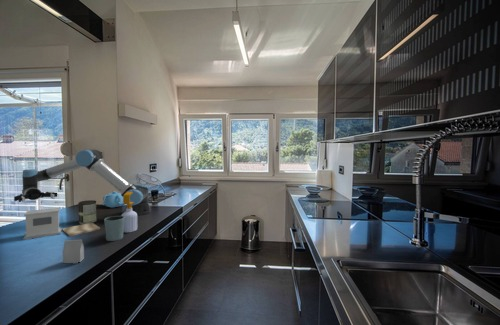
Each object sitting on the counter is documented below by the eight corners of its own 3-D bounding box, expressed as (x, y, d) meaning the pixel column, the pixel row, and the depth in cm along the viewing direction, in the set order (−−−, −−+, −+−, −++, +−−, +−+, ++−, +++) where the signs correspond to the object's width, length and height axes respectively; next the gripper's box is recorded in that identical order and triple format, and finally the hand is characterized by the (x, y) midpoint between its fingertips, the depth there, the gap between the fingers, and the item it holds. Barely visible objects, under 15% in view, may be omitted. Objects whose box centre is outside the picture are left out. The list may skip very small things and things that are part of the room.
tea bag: (80, 262, 104) (80, 241, 104) (62, 264, 103) (62, 242, 102) (84, 259, 108) (83, 238, 107) (67, 260, 106) (66, 239, 106)
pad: (91, 224, 158) (91, 222, 158) (100, 229, 148) (100, 227, 147) (62, 230, 145) (62, 228, 145) (69, 236, 135) (69, 234, 135)
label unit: (61, 229, 146) (60, 207, 146) (60, 234, 138) (59, 210, 138) (26, 234, 137) (25, 210, 136) (23, 239, 129) (22, 214, 128)
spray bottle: (140, 228, 151) (139, 191, 150) (131, 233, 142) (131, 193, 141) (127, 227, 152) (126, 190, 151) (118, 232, 143) (117, 193, 142)
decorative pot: (99, 208, 198) (99, 193, 197) (110, 204, 214) (109, 189, 213) (119, 208, 199) (119, 193, 198) (128, 204, 215) (127, 189, 214)
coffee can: (75, 223, 157) (74, 203, 157) (84, 219, 168) (84, 200, 167) (91, 223, 158) (90, 203, 158) (99, 219, 169) (99, 200, 168)
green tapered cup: (110, 243, 127) (109, 221, 126) (100, 239, 132) (100, 218, 131) (128, 237, 135) (127, 217, 135) (118, 233, 141) (118, 214, 140)
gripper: (56, 196, 164) (64, 201, 151) (6, 202, 145) (10, 208, 132) (56, 186, 164) (64, 190, 151) (5, 190, 145) (10, 195, 131)
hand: (39, 198), depth 141 cm, fingers open, 13 cm apart
